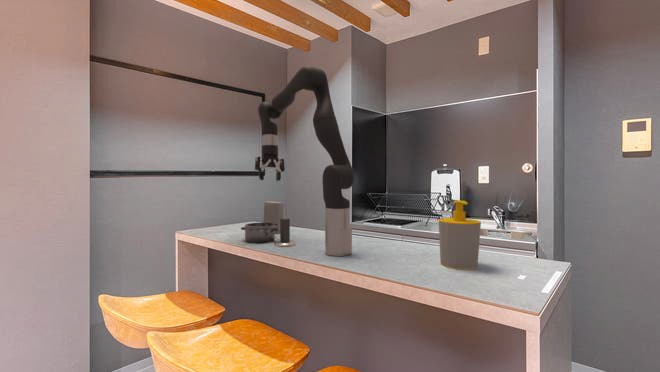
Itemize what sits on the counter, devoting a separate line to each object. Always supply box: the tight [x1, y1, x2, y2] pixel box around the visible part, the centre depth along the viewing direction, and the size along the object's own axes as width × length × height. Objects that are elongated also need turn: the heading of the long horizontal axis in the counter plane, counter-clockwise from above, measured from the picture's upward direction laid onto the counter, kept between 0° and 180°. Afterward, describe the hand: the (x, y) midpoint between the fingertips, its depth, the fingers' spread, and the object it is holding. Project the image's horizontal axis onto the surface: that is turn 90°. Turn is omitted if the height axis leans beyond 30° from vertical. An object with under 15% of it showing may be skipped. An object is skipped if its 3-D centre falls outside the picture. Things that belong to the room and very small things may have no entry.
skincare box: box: [262, 201, 285, 235], centre depth 174 cm, size 8×7×16 cm
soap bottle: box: [438, 199, 482, 271], centre depth 113 cm, size 13×13×21 cm
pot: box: [240, 222, 279, 244], centre depth 154 cm, size 17×13×7 cm
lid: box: [273, 217, 297, 248], centre depth 145 cm, size 9×9×11 cm
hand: (270, 180), depth 158 cm, fingers open, 8 cm apart
